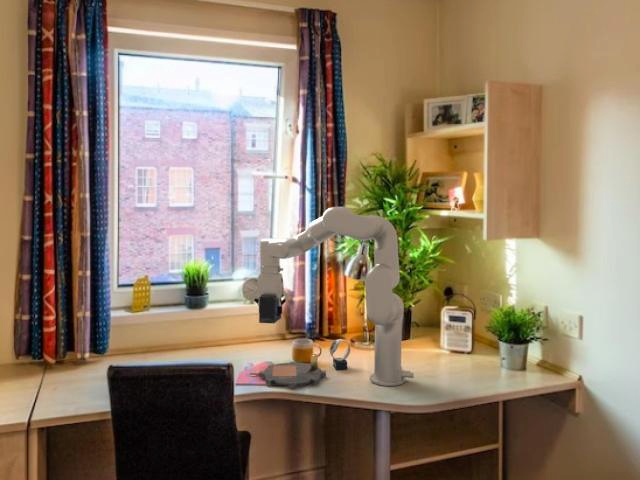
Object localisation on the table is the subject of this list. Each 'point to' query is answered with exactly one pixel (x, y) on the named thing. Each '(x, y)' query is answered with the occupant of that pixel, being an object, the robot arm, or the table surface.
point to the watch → (339, 362)
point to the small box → (268, 309)
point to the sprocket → (293, 373)
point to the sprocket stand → (254, 373)
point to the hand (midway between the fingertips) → (270, 315)
